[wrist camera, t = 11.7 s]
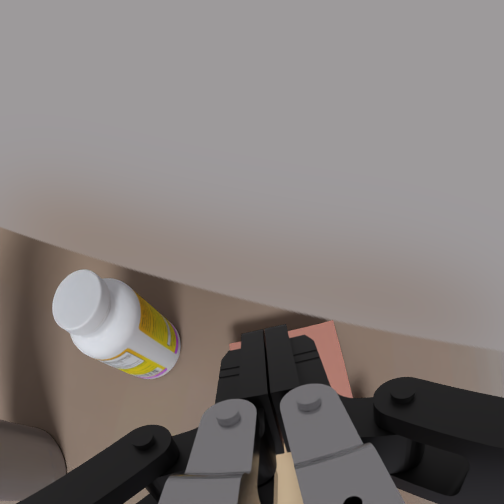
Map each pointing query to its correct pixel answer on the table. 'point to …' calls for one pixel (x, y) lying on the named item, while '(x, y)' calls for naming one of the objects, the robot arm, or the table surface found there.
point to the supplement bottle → (115, 325)
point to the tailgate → (324, 354)
